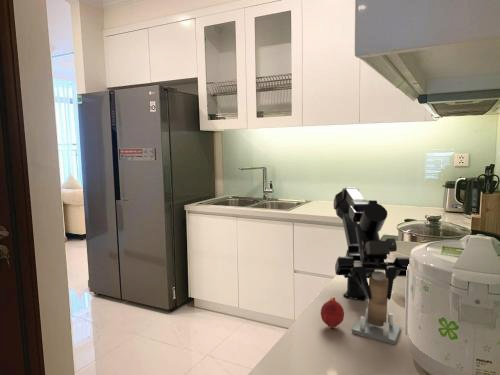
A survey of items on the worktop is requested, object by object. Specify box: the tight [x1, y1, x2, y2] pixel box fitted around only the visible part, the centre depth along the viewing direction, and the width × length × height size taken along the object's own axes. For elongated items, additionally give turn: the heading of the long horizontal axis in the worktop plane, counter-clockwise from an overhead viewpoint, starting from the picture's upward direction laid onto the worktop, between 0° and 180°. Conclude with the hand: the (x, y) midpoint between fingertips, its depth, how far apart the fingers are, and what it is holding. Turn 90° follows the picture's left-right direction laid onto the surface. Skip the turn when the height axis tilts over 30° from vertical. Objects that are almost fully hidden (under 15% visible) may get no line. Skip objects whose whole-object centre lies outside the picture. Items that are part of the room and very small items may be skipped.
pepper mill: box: [367, 270, 388, 326], centre depth 88 cm, size 4×4×12 cm
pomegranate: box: [320, 296, 345, 329], centre depth 90 cm, size 6×6×8 cm
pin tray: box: [351, 307, 402, 345], centre depth 88 cm, size 8×10×4 cm
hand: (379, 299), depth 86 cm, fingers closed on pepper mill, 4 cm apart
